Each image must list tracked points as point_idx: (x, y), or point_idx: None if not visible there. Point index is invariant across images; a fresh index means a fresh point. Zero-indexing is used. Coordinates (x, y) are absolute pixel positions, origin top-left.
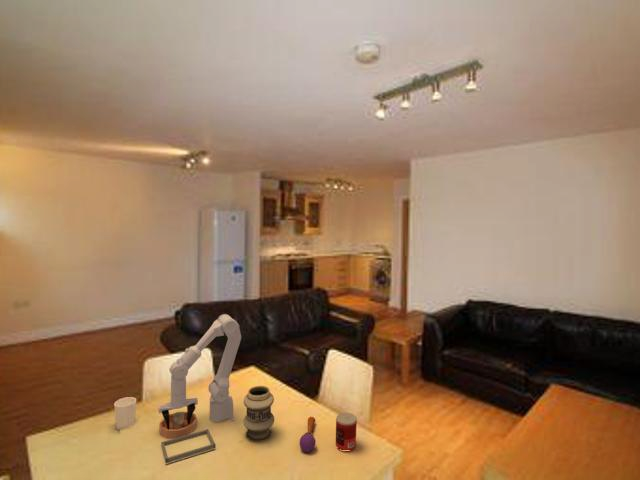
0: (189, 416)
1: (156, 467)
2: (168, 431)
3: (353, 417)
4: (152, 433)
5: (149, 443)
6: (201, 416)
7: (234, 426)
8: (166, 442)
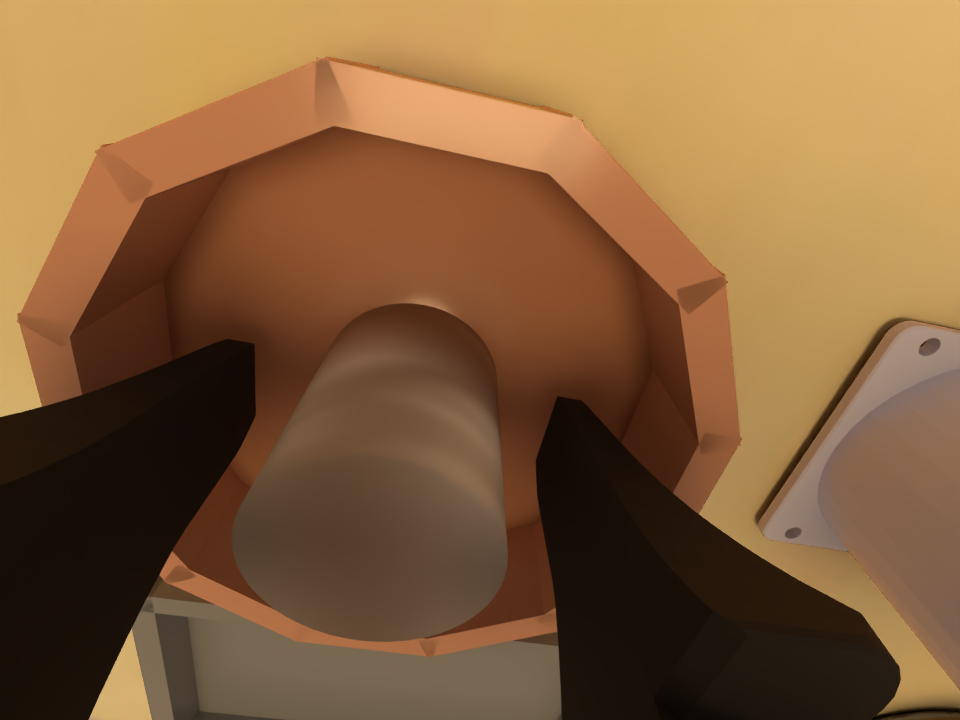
0: (564, 596)
1: (120, 687)
2: (192, 582)
3: None
4: (37, 186)
5: (22, 397)
6: (875, 226)
7: (893, 626)
8: (186, 611)
